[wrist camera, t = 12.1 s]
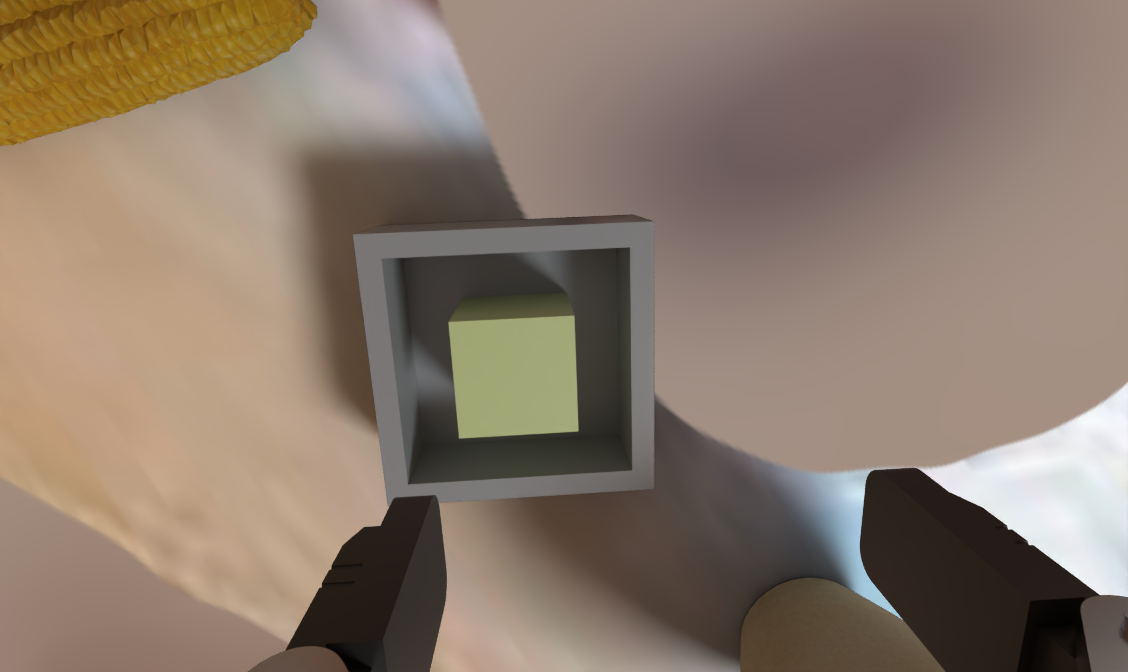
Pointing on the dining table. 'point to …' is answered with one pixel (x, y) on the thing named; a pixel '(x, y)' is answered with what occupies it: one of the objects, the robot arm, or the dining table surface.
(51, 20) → the food
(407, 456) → the bin
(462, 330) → the green block
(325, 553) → the dining table surface
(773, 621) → the plant pot
